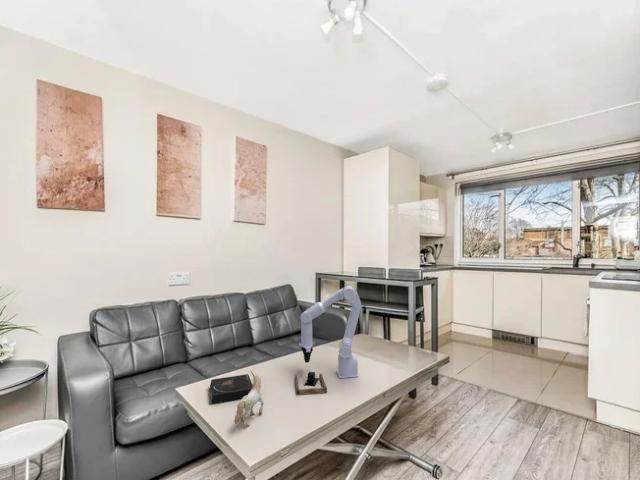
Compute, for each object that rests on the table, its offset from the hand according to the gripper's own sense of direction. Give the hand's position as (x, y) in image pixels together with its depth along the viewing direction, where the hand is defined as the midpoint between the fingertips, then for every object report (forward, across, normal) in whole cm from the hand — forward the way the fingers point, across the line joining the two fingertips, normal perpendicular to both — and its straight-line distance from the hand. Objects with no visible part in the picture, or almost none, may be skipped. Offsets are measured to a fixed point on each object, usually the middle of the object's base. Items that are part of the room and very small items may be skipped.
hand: (307, 362), depth 151 cm
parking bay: (+6, +15, 0) cm, 16 cm away
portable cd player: (+6, +15, -35) cm, 39 cm away
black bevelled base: (+6, +10, +1) cm, 12 cm away
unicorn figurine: (+6, +36, -27) cm, 46 cm away
